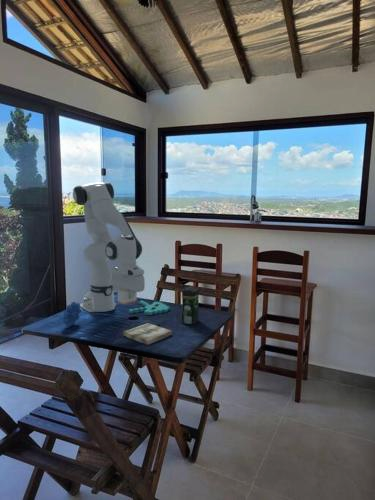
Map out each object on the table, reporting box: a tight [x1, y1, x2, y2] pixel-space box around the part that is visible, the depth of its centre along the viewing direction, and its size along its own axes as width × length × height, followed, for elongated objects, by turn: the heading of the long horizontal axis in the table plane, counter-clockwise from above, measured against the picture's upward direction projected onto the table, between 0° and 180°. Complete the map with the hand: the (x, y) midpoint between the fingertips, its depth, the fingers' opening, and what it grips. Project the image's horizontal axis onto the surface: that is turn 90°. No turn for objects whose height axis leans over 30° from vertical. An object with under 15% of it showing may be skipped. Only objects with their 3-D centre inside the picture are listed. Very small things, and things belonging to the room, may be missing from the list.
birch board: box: [122, 322, 173, 345], centre depth 168 cm, size 16×16×2 cm
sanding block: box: [117, 289, 138, 306], centre depth 172 cm, size 4×8×6 cm, turn 141°
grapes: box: [62, 301, 82, 328], centre depth 178 cm, size 12×7×12 cm, turn 153°
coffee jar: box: [181, 285, 200, 325], centre depth 187 cm, size 10×8×19 cm
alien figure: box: [128, 300, 171, 316], centre depth 208 cm, size 20×2×20 cm
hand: (127, 297), depth 172 cm, fingers closed on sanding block, 4 cm apart
